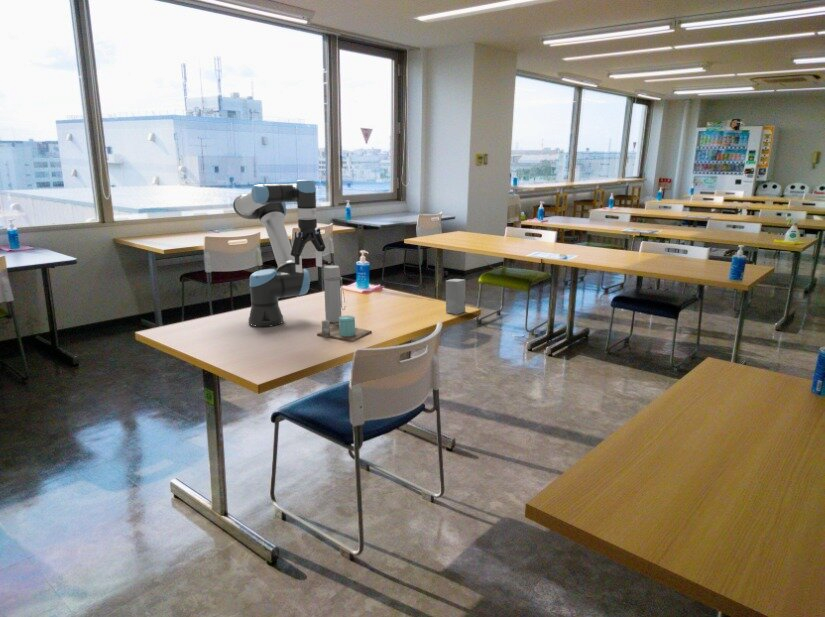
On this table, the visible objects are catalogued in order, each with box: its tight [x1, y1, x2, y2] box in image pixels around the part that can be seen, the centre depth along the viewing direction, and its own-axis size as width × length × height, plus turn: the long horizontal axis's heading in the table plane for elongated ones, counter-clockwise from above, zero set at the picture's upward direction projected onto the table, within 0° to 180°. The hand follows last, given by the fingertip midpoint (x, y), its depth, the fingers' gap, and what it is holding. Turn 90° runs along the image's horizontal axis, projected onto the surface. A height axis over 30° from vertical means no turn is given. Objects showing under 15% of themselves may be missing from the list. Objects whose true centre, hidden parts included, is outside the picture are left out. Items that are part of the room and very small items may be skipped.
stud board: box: [316, 319, 373, 343], centre depth 232 cm, size 18×15×6 cm
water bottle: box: [323, 265, 346, 324], centre depth 249 cm, size 9×8×25 cm
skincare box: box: [445, 278, 466, 316], centre depth 264 cm, size 8×7×16 cm
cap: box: [338, 315, 356, 336], centre depth 230 cm, size 6×6×7 cm
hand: (309, 269), depth 234 cm, fingers open, 13 cm apart
